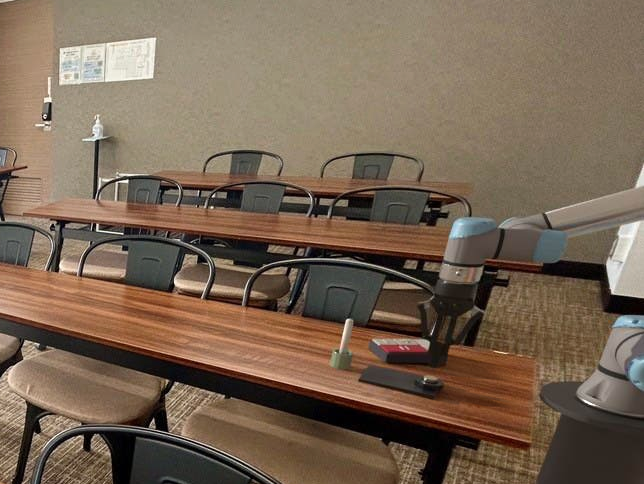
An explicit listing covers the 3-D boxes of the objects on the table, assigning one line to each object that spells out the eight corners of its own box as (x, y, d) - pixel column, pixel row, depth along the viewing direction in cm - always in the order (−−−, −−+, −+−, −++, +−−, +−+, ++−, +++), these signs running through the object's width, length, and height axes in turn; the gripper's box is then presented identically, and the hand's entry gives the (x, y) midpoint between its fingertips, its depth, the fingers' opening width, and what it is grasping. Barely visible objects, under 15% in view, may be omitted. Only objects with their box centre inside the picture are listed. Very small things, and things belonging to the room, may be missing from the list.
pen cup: (351, 366, 169) (355, 351, 167) (347, 372, 166) (350, 356, 164) (332, 362, 172) (335, 347, 171) (327, 367, 169) (331, 352, 168)
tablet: (445, 384, 155) (447, 376, 155) (437, 400, 148) (440, 391, 147) (368, 368, 167) (370, 360, 166) (357, 382, 160) (359, 374, 159)
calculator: (369, 337, 178) (428, 337, 174) (367, 350, 179) (425, 350, 175) (387, 351, 168) (449, 351, 164) (384, 364, 169) (446, 365, 165)
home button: (437, 381, 153) (438, 377, 152) (435, 385, 151) (436, 380, 151) (423, 378, 155) (424, 374, 154) (421, 382, 153) (423, 377, 153)
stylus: (344, 365, 169) (354, 318, 164) (343, 367, 168) (353, 320, 163) (337, 363, 170) (347, 317, 165) (335, 365, 169) (345, 318, 164)
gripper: (421, 279, 145) (399, 364, 154) (492, 288, 136) (465, 377, 144) (426, 273, 150) (404, 355, 158) (496, 281, 141) (469, 368, 149)
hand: (433, 366), depth 151 cm, fingers closed
